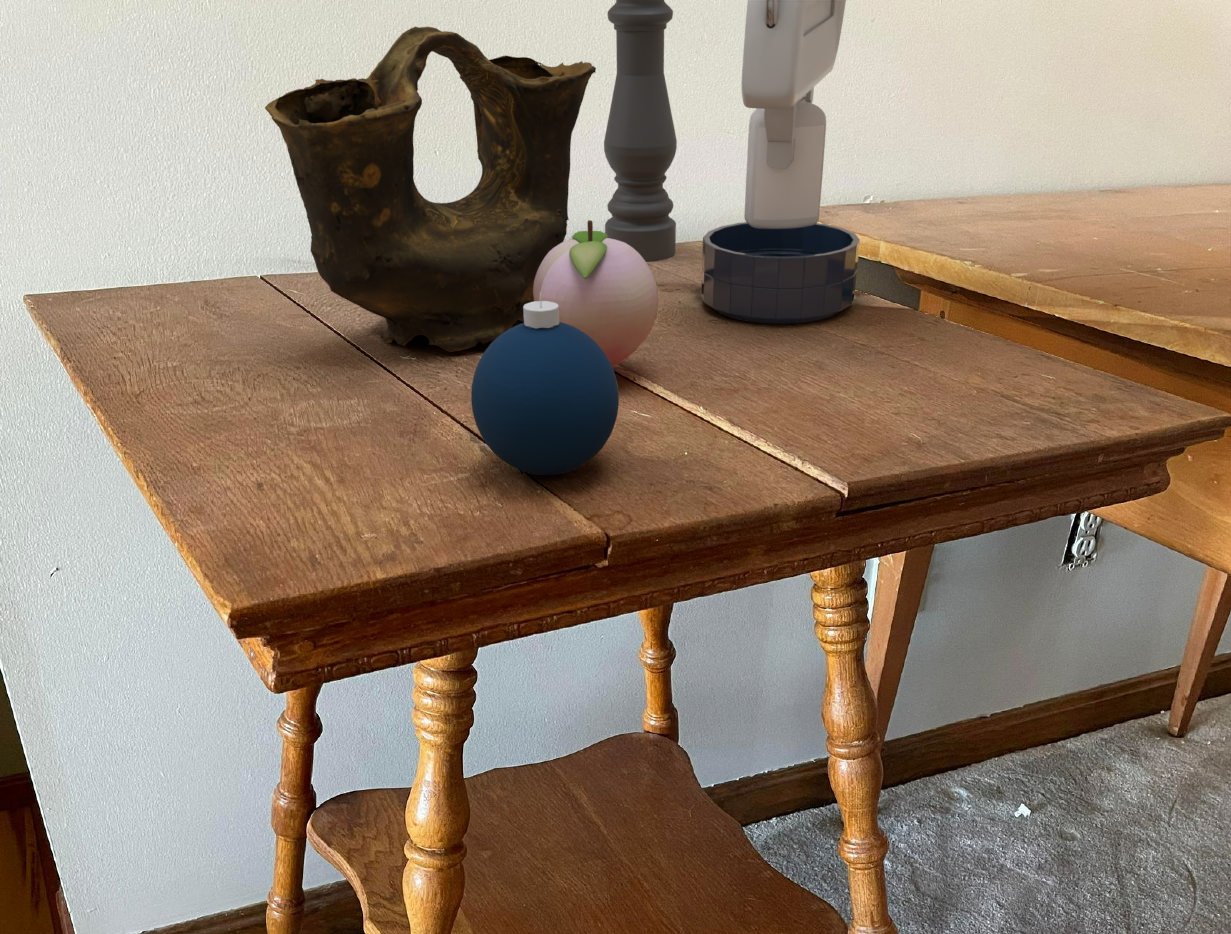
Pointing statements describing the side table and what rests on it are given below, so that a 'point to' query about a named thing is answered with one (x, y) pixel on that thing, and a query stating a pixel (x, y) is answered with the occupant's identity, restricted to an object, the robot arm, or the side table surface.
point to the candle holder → (641, 131)
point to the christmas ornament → (544, 394)
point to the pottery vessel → (426, 231)
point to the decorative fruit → (600, 291)
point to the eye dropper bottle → (786, 173)
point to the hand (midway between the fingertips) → (786, 159)
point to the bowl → (779, 272)
